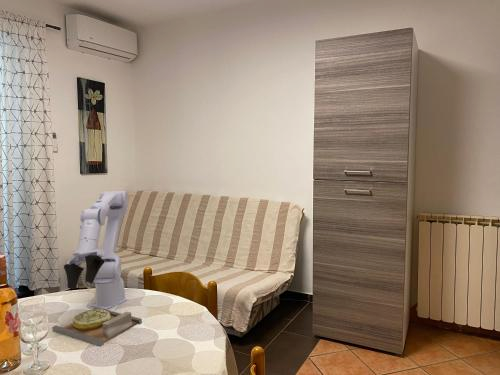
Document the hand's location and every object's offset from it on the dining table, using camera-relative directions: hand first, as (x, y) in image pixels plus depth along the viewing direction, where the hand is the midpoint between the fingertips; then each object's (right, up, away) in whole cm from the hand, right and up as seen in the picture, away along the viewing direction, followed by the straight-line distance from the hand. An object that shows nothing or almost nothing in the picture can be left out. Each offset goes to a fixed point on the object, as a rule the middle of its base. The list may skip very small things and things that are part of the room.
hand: (80, 285), depth 107 cm
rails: (+2, -15, +7) cm, 17 cm away
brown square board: (+3, -15, +7) cm, 17 cm away
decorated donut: (0, -15, +8) cm, 17 cm away
